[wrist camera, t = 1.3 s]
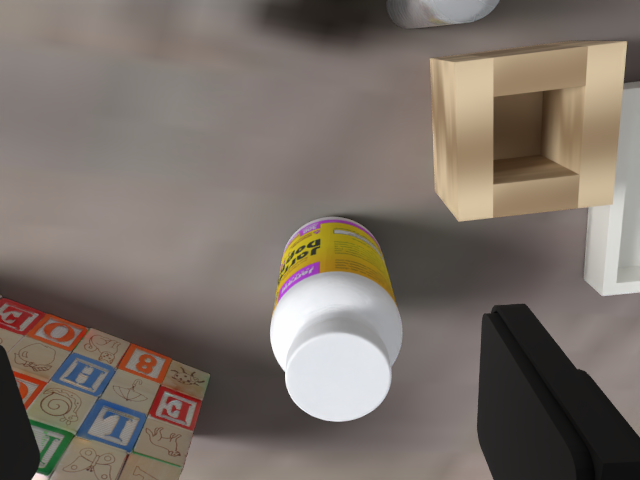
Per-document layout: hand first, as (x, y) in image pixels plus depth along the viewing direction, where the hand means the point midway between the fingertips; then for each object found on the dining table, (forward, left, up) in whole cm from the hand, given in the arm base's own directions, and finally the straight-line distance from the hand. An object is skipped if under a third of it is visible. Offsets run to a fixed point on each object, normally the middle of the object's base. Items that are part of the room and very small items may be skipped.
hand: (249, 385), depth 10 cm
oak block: (0, +12, -23) cm, 26 cm away
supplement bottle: (+8, +1, -24) cm, 25 cm away
